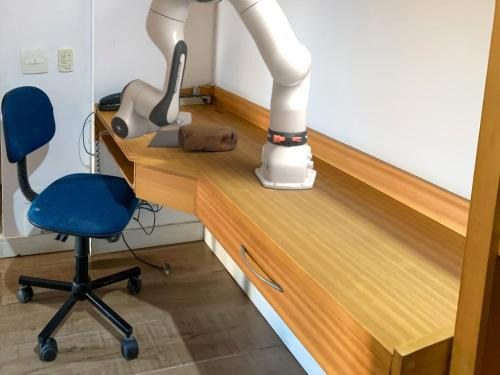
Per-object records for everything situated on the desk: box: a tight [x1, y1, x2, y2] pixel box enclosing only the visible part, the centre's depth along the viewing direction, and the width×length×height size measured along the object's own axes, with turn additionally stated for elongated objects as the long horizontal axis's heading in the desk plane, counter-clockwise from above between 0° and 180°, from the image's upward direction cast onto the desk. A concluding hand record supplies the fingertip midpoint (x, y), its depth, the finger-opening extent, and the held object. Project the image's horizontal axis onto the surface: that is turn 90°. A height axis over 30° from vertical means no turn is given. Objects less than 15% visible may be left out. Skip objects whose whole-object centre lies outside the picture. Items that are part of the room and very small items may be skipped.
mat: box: [147, 131, 182, 149], centre depth 222 cm, size 24×18×1 cm
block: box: [178, 124, 239, 152], centre depth 209 cm, size 11×8×20 cm
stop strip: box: [160, 125, 187, 131], centre depth 235 cm, size 2×18×2 cm, turn 90°
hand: (175, 112), depth 206 cm, fingers closed
